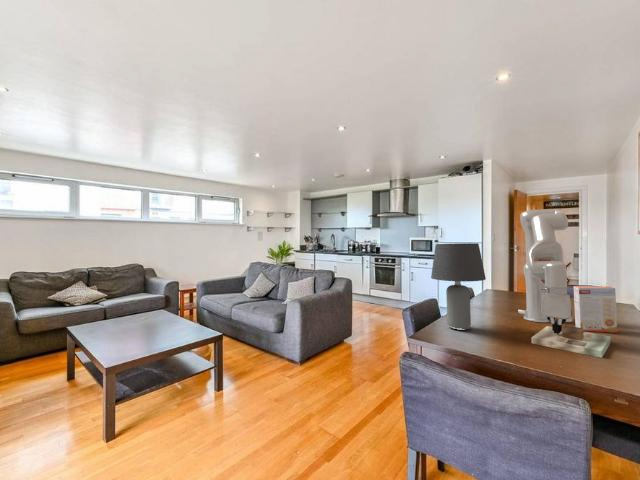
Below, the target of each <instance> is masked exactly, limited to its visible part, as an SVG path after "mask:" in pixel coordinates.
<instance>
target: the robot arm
mask: <svg viewBox="0 0 640 480" xmlns="http://www.w3.org/2000/svg"><path fill="white" fill-rule="evenodd" d="M519 220H520V221H519V222H520V225H521V228H522V230H523V232H524V235H525V240H524V241H525V254H526V257H525V259H526V263H525V264H524V265H523V269H522V270H523V273H524V274H523V275H524V279H525V293H526V294H525V297H526V301H525V302H526V303H525V304H526V309H524V310H523V309H518V311H517V312H518V313H519V314H520V315H523V319H524V320H526V321H529V322H537V323H551V325H552V326H551V327H552V330H553V331H554V333H555V334H556V333H557V334H560V332H562V328H563V324H565V323H569V322H571V323H572V322H573V321H574V320H573V309H572V301H571V297H570V294H568V283H567V281H568V279H567V277H568V276H567V266H566V264H565V263H564V252H563V251H564V250H563V246H562V245H561V243H559V242H557V238H556V233H555V231H564V230H567V229H568V227H569V219H568V217H567V215H566V214H565V212H563V211H562V210H560V209H558V208H553V209H552V208H548V209H547V208H546V209H532V210H531V209H530V210H525V211H522V212H521V213H520V216H519ZM542 280H544V282H543V281H542ZM556 319H557V320H556Z"/></svg>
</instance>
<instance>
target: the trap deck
mask: <svg viewBox="0 0 640 480" xmlns="http://www.w3.org/2000/svg"><path fill="white" fill-rule="evenodd" d="M583 332H584V338H583V339H582V340H581V341H579V340H573V339H568V338H562V332H560V334H557V333H556V334H555V333H554V331H553V330H552V326H550V325H549V326H548V325H546V326H545V327H543V329H541V330H539V331H538V332H536V333H535V334H534V335H533V336H531V339H530V340H531V344H533V345H537V346H543V347H547V348H552V349H557V350H563V351H565V352H571V353H576V354H580V355H581V354H582V355H586V356H590V355H591V357H596V358H602V359H603V358H604V355H605V353H606V351H607V350H608V348H609V347H610V345H611V343H612V337H611V336H609V335H603V334H598V333H597V334H596V333H592V332H587V331H583Z"/></svg>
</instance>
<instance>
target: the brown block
mask: <svg viewBox="0 0 640 480" xmlns="http://www.w3.org/2000/svg"><path fill="white" fill-rule="evenodd" d="M584 332H585V331H583V328H578V327H576V326H569V325H564V326H562V338H568V339H573V340H579V341H581V340H582V339H583V338H584Z"/></svg>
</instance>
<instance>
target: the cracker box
mask: <svg viewBox="0 0 640 480" xmlns="http://www.w3.org/2000/svg"><path fill="white" fill-rule="evenodd" d="M573 305H574V319H575V320H574V322H575V326H574V327H578V328H583V332H591V333H592V332H595V333H596V332H597V333H598V332H599V333H609V334H610V333H613V334H614V333H615V334H617V333H618V319H617V318H618V316H617V315H618V314H617V296H616V288H615V287H611V286H597V285H596V286H593V285H591V286H590V285H589V286H588V285H574V286H573Z"/></svg>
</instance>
